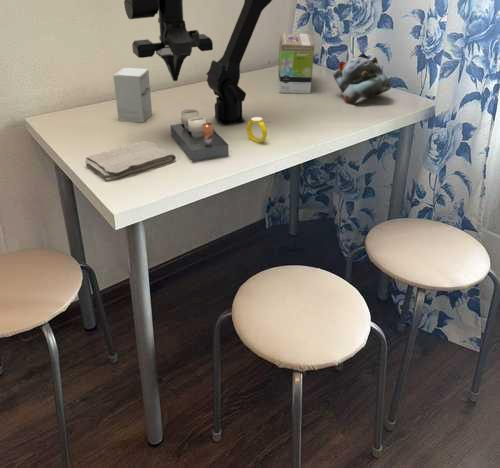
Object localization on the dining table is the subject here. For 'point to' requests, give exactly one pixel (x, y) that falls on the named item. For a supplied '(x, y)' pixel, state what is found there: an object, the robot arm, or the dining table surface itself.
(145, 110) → the supplement box
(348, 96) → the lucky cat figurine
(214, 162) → the dining table surface
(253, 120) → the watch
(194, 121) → the knob
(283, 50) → the tea box
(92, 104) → the dining table surface
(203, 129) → the orange bulb
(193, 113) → the knob
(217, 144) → the dark grey tray
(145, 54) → the robot arm
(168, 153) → the washcloth
